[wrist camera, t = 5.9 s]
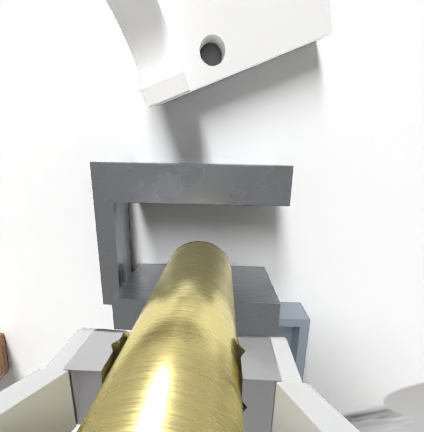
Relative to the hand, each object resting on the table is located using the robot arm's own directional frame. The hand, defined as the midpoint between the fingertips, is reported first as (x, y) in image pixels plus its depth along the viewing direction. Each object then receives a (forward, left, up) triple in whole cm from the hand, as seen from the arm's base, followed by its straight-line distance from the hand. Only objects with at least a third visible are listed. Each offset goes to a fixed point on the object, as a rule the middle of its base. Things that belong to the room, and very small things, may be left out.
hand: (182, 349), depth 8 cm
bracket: (-1, -16, -15) cm, 21 cm away
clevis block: (+1, 0, -14) cm, 14 cm away
